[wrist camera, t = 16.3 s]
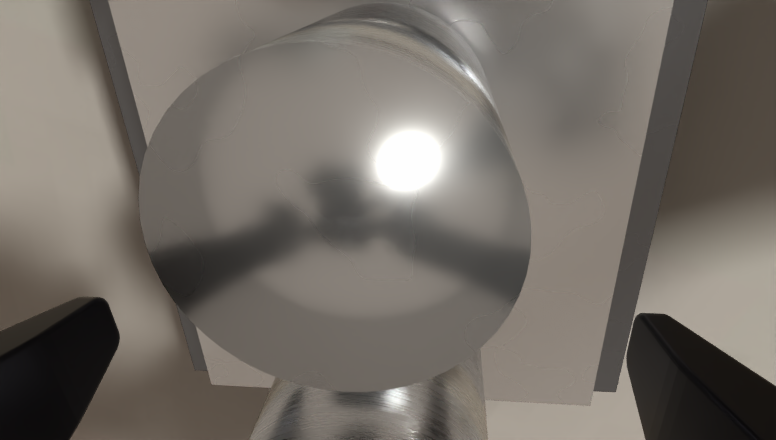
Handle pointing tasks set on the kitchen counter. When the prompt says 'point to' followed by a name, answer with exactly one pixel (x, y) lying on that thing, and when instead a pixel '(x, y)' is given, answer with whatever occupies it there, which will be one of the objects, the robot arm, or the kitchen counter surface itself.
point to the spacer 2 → (380, 410)
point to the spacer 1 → (341, 203)
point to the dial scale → (526, 139)
